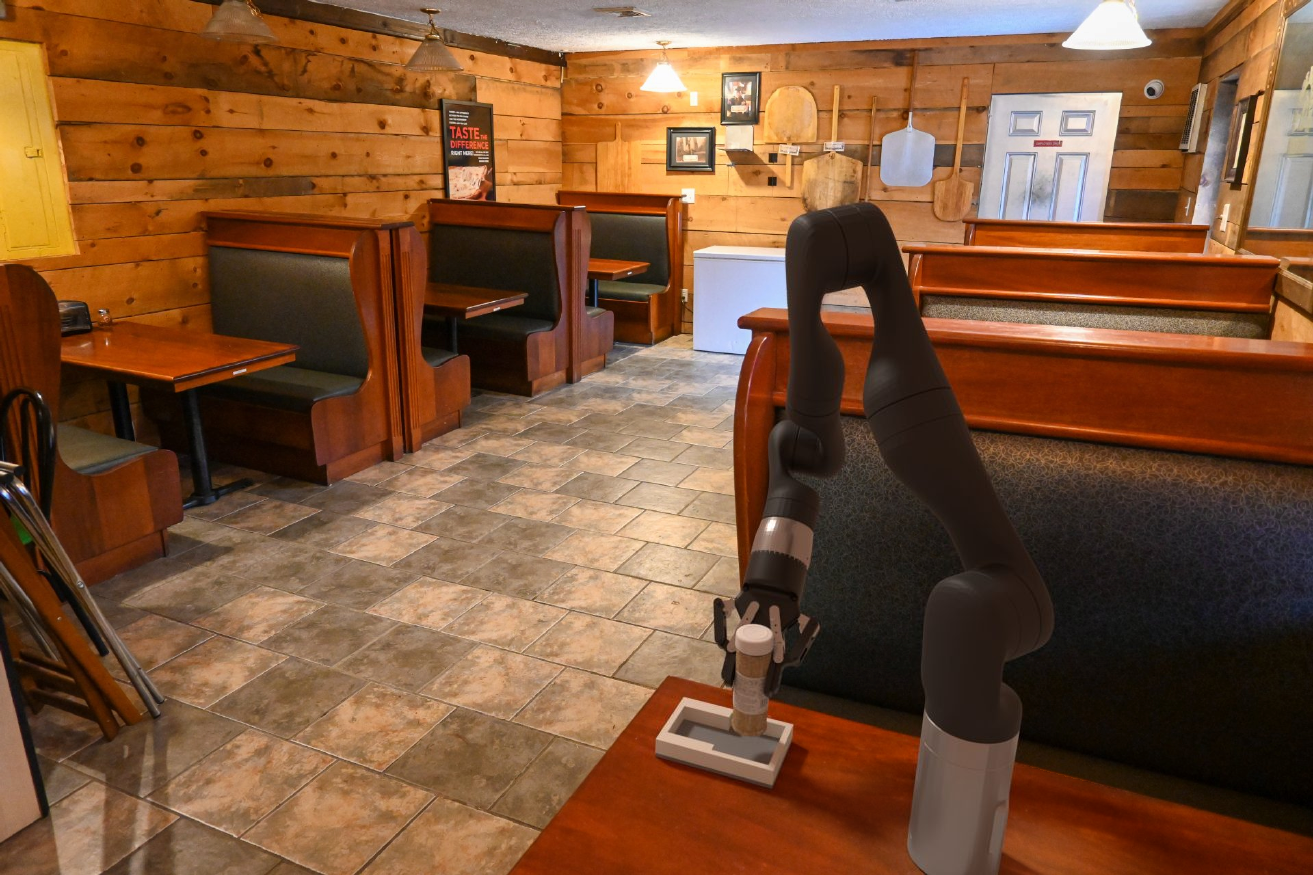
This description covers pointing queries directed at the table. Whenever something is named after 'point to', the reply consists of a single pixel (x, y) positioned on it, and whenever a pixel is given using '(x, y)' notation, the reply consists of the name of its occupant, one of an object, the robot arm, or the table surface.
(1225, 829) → the table surface
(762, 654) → the sprinkles bottle
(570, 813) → the table surface
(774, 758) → the shallow tray
